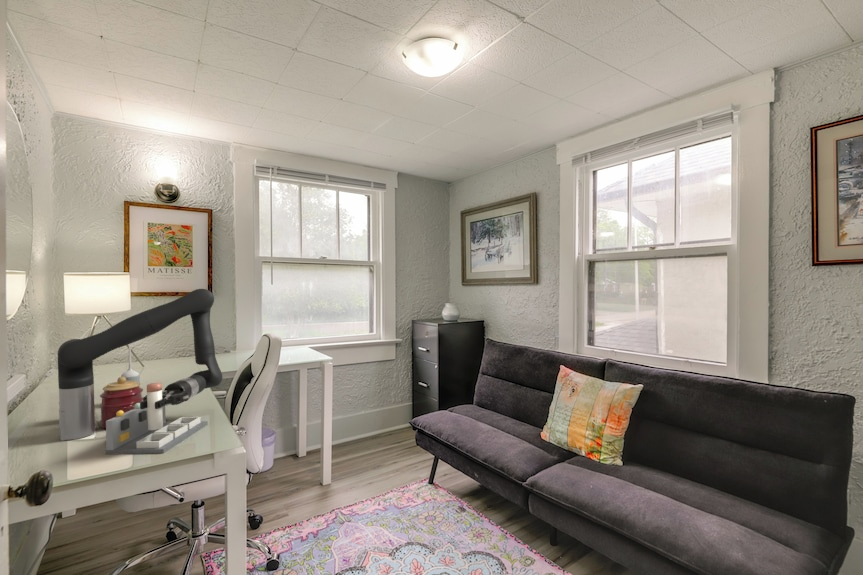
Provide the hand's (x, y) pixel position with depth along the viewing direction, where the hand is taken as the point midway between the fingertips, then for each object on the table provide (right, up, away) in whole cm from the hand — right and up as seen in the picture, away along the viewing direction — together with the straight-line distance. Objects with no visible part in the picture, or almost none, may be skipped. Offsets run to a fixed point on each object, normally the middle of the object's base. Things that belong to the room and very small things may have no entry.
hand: (148, 405), depth 128 cm
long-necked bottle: (-43, -14, +51) cm, 68 cm away
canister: (-27, -14, +26) cm, 40 cm away
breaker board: (-3, -14, +11) cm, 18 cm away
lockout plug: (0, -8, +3) cm, 8 cm away
